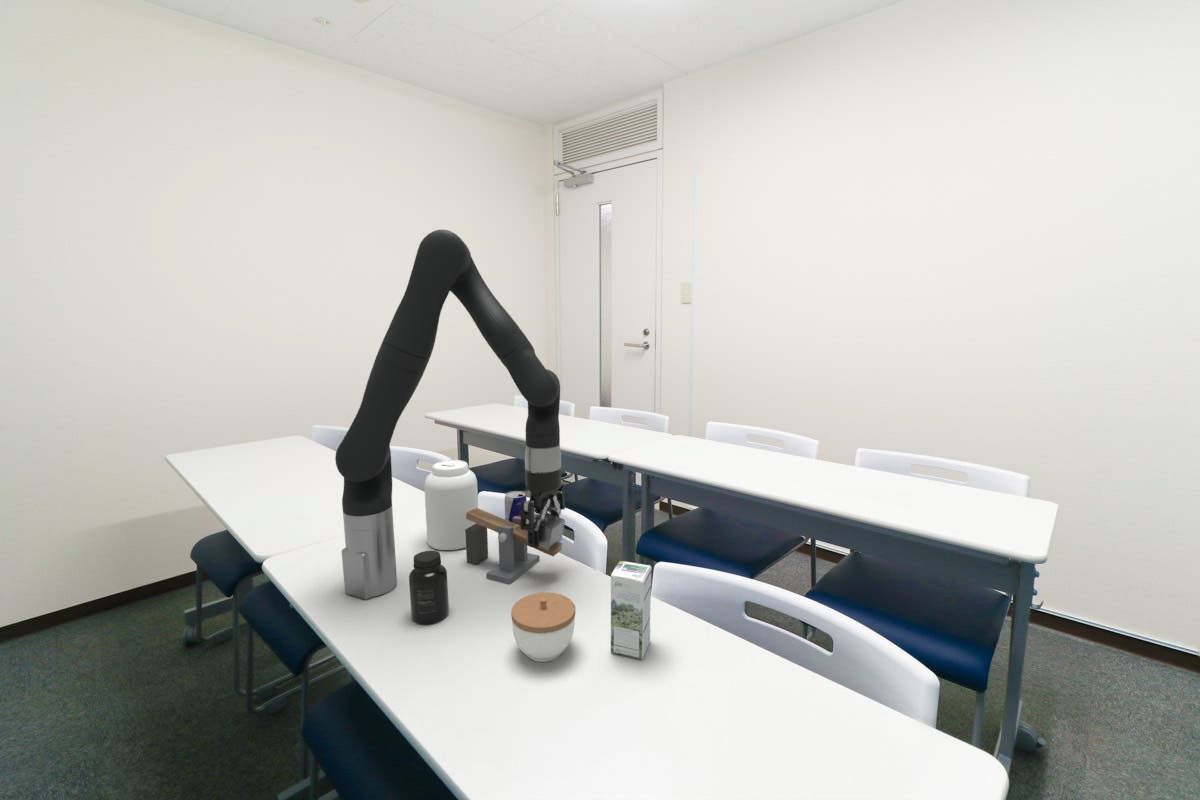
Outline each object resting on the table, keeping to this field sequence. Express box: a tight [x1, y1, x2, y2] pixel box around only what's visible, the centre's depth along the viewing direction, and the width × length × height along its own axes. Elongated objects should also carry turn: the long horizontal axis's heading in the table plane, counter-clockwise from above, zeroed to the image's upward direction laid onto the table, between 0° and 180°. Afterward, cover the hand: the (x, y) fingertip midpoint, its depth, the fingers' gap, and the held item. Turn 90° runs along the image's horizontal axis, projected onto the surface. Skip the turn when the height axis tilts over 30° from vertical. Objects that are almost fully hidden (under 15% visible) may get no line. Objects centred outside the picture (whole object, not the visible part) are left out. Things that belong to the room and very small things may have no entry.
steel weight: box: [527, 512, 566, 551], centre depth 115 cm, size 6×6×5 cm
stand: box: [465, 516, 541, 585], centre depth 121 cm, size 12×14×11 cm
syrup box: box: [610, 560, 652, 660], centre depth 91 cm, size 6×6×14 cm
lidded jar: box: [510, 592, 576, 663], centre depth 91 cm, size 11×11×9 cm
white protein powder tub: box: [423, 459, 479, 551], centre depth 133 cm, size 12×12×20 cm
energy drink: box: [504, 490, 528, 523], centre depth 134 cm, size 5×5×12 cm
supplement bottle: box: [408, 549, 450, 625], centre depth 101 cm, size 7×7×12 cm
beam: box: [466, 507, 563, 557], centre depth 119 cm, size 4×23×2 cm, turn 65°
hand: (544, 538), depth 115 cm, fingers open, 8 cm apart
